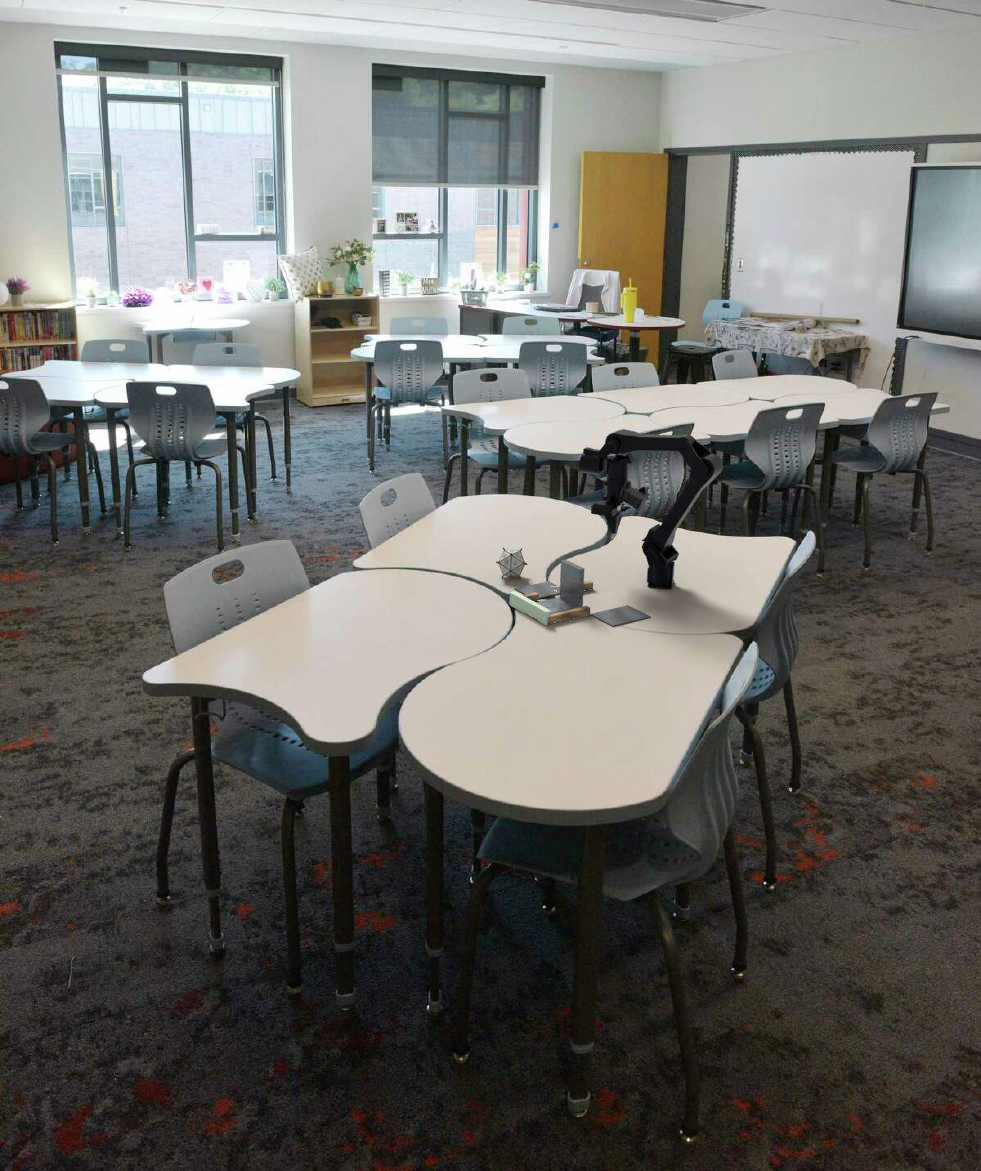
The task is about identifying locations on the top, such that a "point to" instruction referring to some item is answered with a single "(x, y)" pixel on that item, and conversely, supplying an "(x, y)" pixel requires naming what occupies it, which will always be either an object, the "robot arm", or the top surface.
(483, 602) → the top surface
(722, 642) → the top surface
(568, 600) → the bookend
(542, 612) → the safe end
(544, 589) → the trap lane
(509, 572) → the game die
